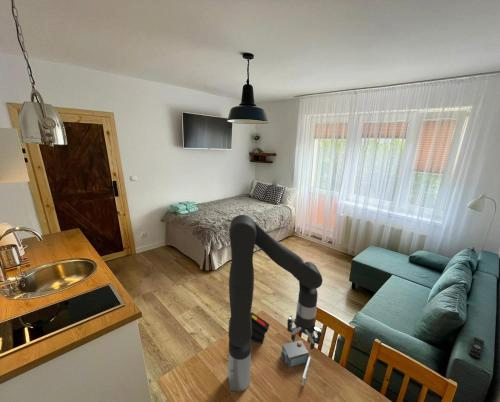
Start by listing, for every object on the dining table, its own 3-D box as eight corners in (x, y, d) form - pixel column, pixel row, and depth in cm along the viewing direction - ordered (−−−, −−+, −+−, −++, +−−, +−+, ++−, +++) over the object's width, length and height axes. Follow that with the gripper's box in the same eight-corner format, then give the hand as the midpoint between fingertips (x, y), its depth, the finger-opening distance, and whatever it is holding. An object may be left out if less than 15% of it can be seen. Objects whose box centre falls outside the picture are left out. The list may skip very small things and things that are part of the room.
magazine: (239, 328, 122) (251, 311, 116) (260, 343, 119) (273, 326, 114) (236, 333, 118) (249, 316, 113) (257, 349, 116) (271, 332, 110)
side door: (304, 386, 95) (305, 378, 94) (301, 385, 96) (302, 377, 94) (311, 363, 105) (312, 355, 104) (308, 362, 106) (309, 354, 104)
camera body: (285, 369, 102) (286, 357, 101) (279, 354, 109) (279, 344, 107) (307, 362, 106) (308, 351, 104) (300, 349, 112) (301, 338, 110)
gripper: (285, 310, 88) (282, 343, 93) (322, 325, 82) (317, 359, 86) (291, 299, 95) (288, 330, 99) (326, 311, 88) (321, 344, 93)
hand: (302, 344), depth 93 cm, fingers open, 7 cm apart
